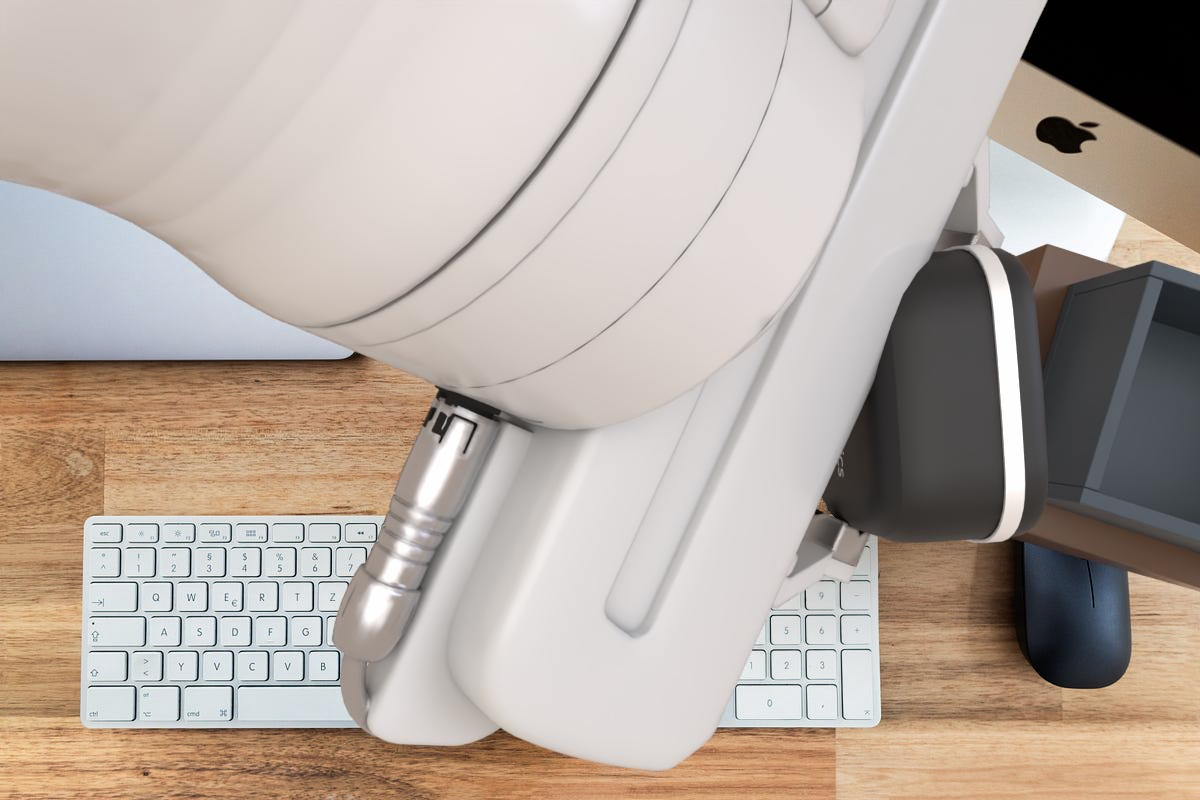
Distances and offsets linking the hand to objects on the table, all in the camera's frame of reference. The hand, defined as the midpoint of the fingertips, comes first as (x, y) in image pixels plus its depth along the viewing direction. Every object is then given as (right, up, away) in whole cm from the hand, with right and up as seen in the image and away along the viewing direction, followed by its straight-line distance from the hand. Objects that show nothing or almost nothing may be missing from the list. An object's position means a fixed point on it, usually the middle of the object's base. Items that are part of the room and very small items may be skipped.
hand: (903, 403), depth 24 cm
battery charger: (-1, 0, +6) cm, 6 cm away
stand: (+16, -2, +41) cm, 44 cm away
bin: (+16, -1, +13) cm, 20 cm away
